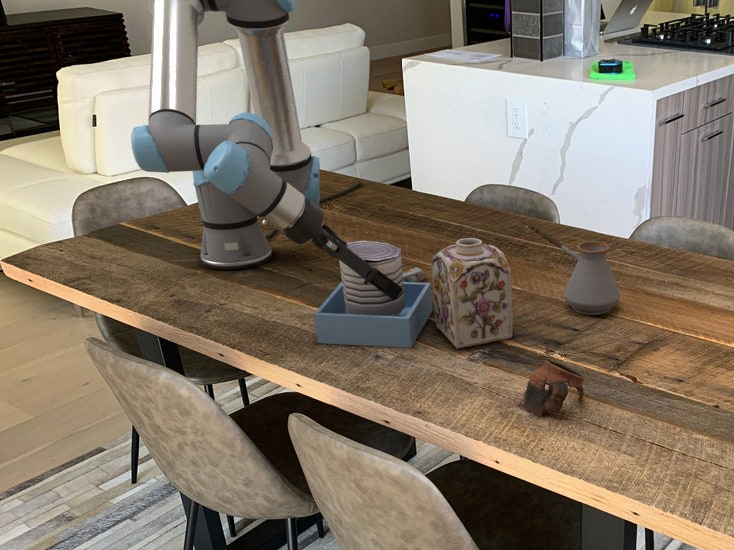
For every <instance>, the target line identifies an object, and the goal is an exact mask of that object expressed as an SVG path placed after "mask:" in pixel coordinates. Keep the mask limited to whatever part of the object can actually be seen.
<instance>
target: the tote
mask: <svg viewBox="0 0 734 550" xmlns="http://www.w3.org/2000/svg"><path fill="white" fill-rule="evenodd" d="M403 286H404V297H405V309H404V310H403V311H402V312H401V313H400V314H399V315H395V316H378V315H357V314H348V313H347V311H346V309H345V301H344V293H343V285H342V281H341V282H340V283H339V284H338V285H337V286H336V287H335V288H334V290H333V291H332V292H331V293H330V295H329V296H328V297H327V298H326V299H325V301H324V302H323V303H322V304H321V305H320V306H319V307H318V309H317V310H316V311H315V312H314V313H313V319H314V326H315V333H316V340H317V344H327V345H348V346H349V345H351V346H368V347H369V346H371V347H387V348H390V347H391V348H408V349H409V348H410V349H411V348H412V347H413V345H414V344H415V342H416V341H417V339H418V337H419V335H420V333H421V332H422V330H423V328H424V327H425V325H426V323H427V322H428V319H429V318H430V316H431V315H432V312H433V308H434V306H433V293H432V283H431V282H415V283H414V282H403Z"/></svg>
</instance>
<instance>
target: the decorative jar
mask: <svg viewBox="0 0 734 550" xmlns="http://www.w3.org/2000/svg"><path fill="white" fill-rule="evenodd" d="M430 264H431V281H432V283H431V284H432V300H433V308H434V322H435V326H436V328H437V329H438V330H439V331H440V332H441V334H443V335H444V337H445V338H446V339H448V341H449V342H450V343H451V344H452V345H453V346H454V347H455V348H456V349H457V350H458V349H459V350H460V349H463V348H469V347H474V346H480V345H484V344H489V343H494V342H499V341H503V340H509V339H512V337H513V326H514V325H513V322H514V321H513V319H514V318H513V317H514V316H513V283H512V282H513V281H512V269H511V267H510V264H509V262H508V261H507V259H506V255H505V253H504V252H503V251H501V250H500V248H498V247H496V246H495V245H492V244H487V243H483V241H482V240H481V239H480V238H475V237H466V238H460V239H458V240H456V242H455V244H450V245H448V246H446V247H445V248H442V249H441V250H439V251H438V252H437V253H436V254H435V255H434V256H433V257H432V259H431V262H430Z"/></svg>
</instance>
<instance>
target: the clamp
mask: <svg viewBox="0 0 734 550" xmlns="http://www.w3.org/2000/svg"><path fill="white" fill-rule="evenodd" d="M408 270H409V271H407V272H402V274H403V282H414V283H419V282H421V281H424V279H425V271H424V270H423V269H421V268H420V267H416V266H415V267H414V268H409V269H408Z"/></svg>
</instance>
